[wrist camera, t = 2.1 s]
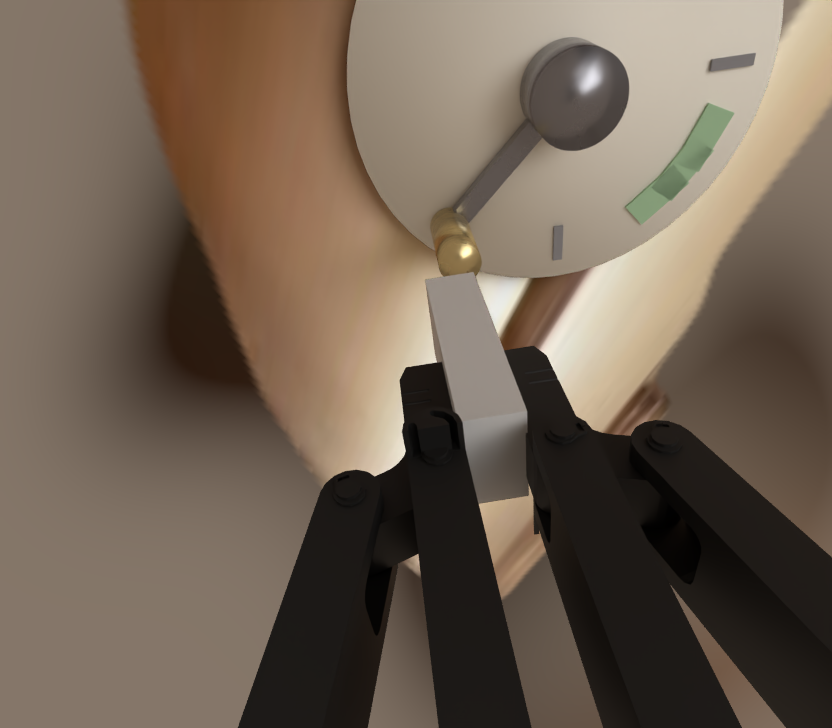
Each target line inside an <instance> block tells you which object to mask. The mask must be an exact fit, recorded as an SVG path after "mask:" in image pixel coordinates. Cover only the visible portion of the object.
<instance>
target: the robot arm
mask: <svg viewBox="0 0 832 728" xmlns="http://www.w3.org/2000/svg"><path fill="white" fill-rule="evenodd" d="M425 282H426V290H427V297H428V304H429V312H430V319H431V327H432V334H433V342H434V349H435V355H436V360H437V363H431V364H425V365H419V366H413V367H406V368H405V370H404V372H403V374H402V376H401V379H400V388H401V396H402V405H403V414H404V424H403V430H402V434H403V439H404V444H405V449H406V452H405V455H404V457H403V458H402V460H401V461H400V462H399V463H398V464H397V465H396V466H394V467H393V468H391V469H390V470H388V471H386V472H384V473H382V474H379V475H377V476H373V475H371V474H370V473H368V472H366V471H360V470H351V471H345V472H342V473H340V474H338V475H335V476H334V477H333V478H331V479H330V480H329V481H328V482H327V483H326V484H325V485H324V487H323V489H322V490H321V492H320V495H319V497H318V501H317V503H316V506H315V509H314V512H313V515H312V517H311V520H310V523H309V526H308V529H307V532H306V535H305V538H304V541H303V544H302V546H301V549H300V552H299V555H298V558H297V560H296V564H295V566H294V569H293V572H292V575H291V578H290V580H289V583H288V586H287V589H286V592H285V595H284V597H283V600H282V603H281V606H280V609H279V612H278V615H277V617H276V620H275V623H274V626H273V629H272V632H271V635H270V637H269V640H268V643H267V646H266V649H265V652H264V655H263V658H262V660H261V663H260V666H259V669H258V672H257V675H256V678H255V680H254V683H253V686H252V689H251V692H250V695H249V697H248V700H247V704H246V706H245V709H244V712H243V715H242V717H241V720H240V723H239V726H238V728H368V723H369V718H370V712H371V707H372V702H373V696H374V691H375V686H376V681H377V675H378V670H379V665H380V660H381V654H382V649H383V644H384V638H385V633H386V628H387V622H388V617H389V612H390V606H391V601H392V596H393V591H394V585H395V580H396V575H397V569H398V563H400V562H402V561H404V560H406V559H408V558H411V557H413V556H415V555H417V554H419V562H420V571H421V579H422V587H423V597H424V604H425V614H426V621H427V631H428V639H429V648H430V656H431V665H432V673H433V682H434V690H435V699H436V707H437V716H438V724H439V728H531V724H530V719H529V715H528V711H527V707H526V703H525V698H524V694H523V690H522V686H521V681H520V677H519V673H518V669H517V665H516V661H515V656H514V652H513V648H512V643H511V639H510V635H509V631H508V627H507V622H506V618H505V614H504V610H503V605H502V601H501V597H500V593H499V588H498V584H497V580H496V576H495V571H494V567H493V563H492V559H491V555H490V550H489V546H488V542H487V538H486V533H485V529H484V525H483V521H482V516H481V512H480V508H479V504H480V503H486V502H492V501H498V500H504V499H511V498H517V497H523V496H529V488H528V483H529V486H530V489H531V492H532V495H533V502H534V535H535V534H539V531H540V534H541V537H542V540H543V543H544V546H545V549H546V552H547V555H548V558H549V561H550V564H551V567H552V571H553V574H554V576H555V580H556V583H557V586H558V589H559V592H560V595H561V598H562V602H563V605H564V608H565V611H566V614H567V617H568V620H569V623H570V626H571V629H572V633H573V635H574V639H575V642H576V645H577V648H578V651H579V654H580V657H581V660H582V663H583V667H584V669H585V673H586V676H587V679H588V682H589V685H590V688H591V691H592V694H593V697H594V700H595V704H596V707H597V710H598V712H599V716H600V719H601V722H602V725H603V728H742V727H741V725H740V723H739V721H738V719H737V717H736V715H735V713H734V711H733V709H732V707H731V705H730V703H729V701H728V699H727V697H726V695H725V693H724V691H723V689H722V687H721V685H720V683H719V681H718V679H717V677H716V675H715V673H714V671H713V669H712V667H711V666H710V663H709V661H708V659H707V657H706V655H705V653H704V652H703V649H702V647H701V645H700V643H699V642H698V640H697V638H696V635H695V634H694V632H693V630H692V627H691V626H690V624H689V622H688V620H687V618H686V616H685V614H684V612H683V610H682V608H681V606H680V604H679V602H678V600H677V598H676V596H675V594H674V592H673V590H672V588H671V586H672V587H673V588H674V589H675V591H676V592H677V593H678V594H679V596H680V597H681V598H682V599H683V600H684V602H685V603H686V604H687V606H688V607H689V608H690V609H691V610H692V612H693V613H694V614H695V615H696V617H697V618H698V619H699V620H700V622H701V623H702V624H703V625H704V627H705V628H706V629H707V630H708V632H709V633H710V634H711V635H712V637H713V638H714V639H715V640H716V641H717V643H718V644H719V645H720V646H721V648H722V649H723V650H724V651H725V653H726V654H727V655H728V656H729V657H730V659H731V660H732V661H733V662H734V664H735V665H736V666H737V667H738V669H739V670H740V671H741V672H742V674H743V675H744V676H745V677H746V679H747V680H748V681H749V682H750V683H751V684H752V686H753V687H754V688H755V690H756V691H757V692H758V693H759V695H760V696H761V697H762V698H763V700H764V701H765V702H766V703H767V705H768V706H769V707H770V708H771V709H772V711H773V712H774V713H775V714H776V716H777V717H778V718H779V719H780V721H781V722H782V723H783V724H784V726H785V727H786V728H832V557H831V556H830V555H828V554H827V553H826V552H825V551H824V550H823V549H822V548H820V547H819V546H818V545H817V544H816V543H815V542H814V541H813V540H812V539H810V538H809V537H808V536H807V535H806V534H805V533H804V532H803V531H801V530H800V529H799V528H798V527H797V526H796V525H795V524H794V523H792V522H791V521H790V520H789V519H788V518H787V517H786V516H785V515H783V514H782V513H781V512H780V511H779V510H778V509H777V508H776V507H774V506H773V505H772V504H771V503H770V502H769V501H768V500H767V499H765V498H764V497H763V496H762V495H761V494H760V493H759V492H758V491H756V490H755V489H754V488H753V487H752V486H751V485H749V483H747V482H746V481H745V480H744V479H743V478H742V477H741V476H740V475H738V474H737V473H736V472H735V471H734V470H733V469H732V468H731V467H729V466H728V465H727V464H726V463H725V462H724V461H723V460H722V459H720V458H719V457H718V456H717V455H716V454H715V453H714V452H713V451H711V450H710V449H709V448H708V447H707V446H706V445H705V444H704V443H702V442H701V441H700V440H699V439H698V438H697V437H696V436H694V435H693V434H692V433H691V432H690V431H689V430H687V429H685V428H684V427H682V426H681V425H678V424H675V423H672V422H669V421H659V420H654V421H649V422H644V423H642V424H641V425H639V426H637V427H636V428H635V429H634V431H633V433H632V434H631V436H625V435H613V434H606V433H601V432H598V431H595V430H592V429H591V427H590V426H589V425H588V424H587V423H586V422H585V421H584V420H582V419H580V418H578V417H577V416H576V415H575V413H574V411H573V409H572V407H571V405H570V403H569V401H568V399H567V397H566V395H565V392H564V390H563V388H562V386H561V384H560V382H559V380H558V379H557V376H556V374H555V372H554V370H553V368H552V366H551V364H550V362H549V360H548V358H547V356H546V355H545V354H544V353H543V352H541V351H540V350H539V349H537V348H536V347H535V346H530V347H523V348H517V349H511V350H505V351H504V350H503V347H502V345H501V342H500V339H499V337H498V334H497V332H496V329H495V326H494V324H493V321H492V319H491V316H490V313H489V311H488V308H487V306H486V303H485V300H484V298H483V295H482V293H481V290H480V287H479V285H478V282H477V280H476V277H475V275H474V272H470V273H464V274H457V275H451V276H445V277H439V278H432V279H426V280H425ZM669 583H670V584H669ZM670 585H671V586H670Z"/></svg>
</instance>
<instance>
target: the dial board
mask: <svg viewBox="0 0 832 728" xmlns="http://www.w3.org/2000/svg"><path fill="white" fill-rule="evenodd" d="M782 16H783V0H356V3H355V7H354V11H353V16H352V20H351V28H350V36H349V44H348V52H347V93H348V102H349V110H350V119H351V123H352V127H353V131H354V135H355V139H356V143H357V147H358V150H359V152H360V155H361V158H362V160H363V163H364V165H365V168H366V171H367V173H368V175H369V177H370V179H371V180H372V182H373V184H374V186H375V188H376V190H377V192H378V193H379V195H380V197H381V198H382V199H383V201H384V202H385V204H386V205H387V206H388V208H389V209H390V210H391V212H392V213H393V215H394V216H395V217H396V218H397V219H398V220H399V221H400V222H401V223H402V224H403V225H404V226H405V227H406V229H407V230H408V231H409V232H410V233H411V234H413V235H414V236H415V237H416V238H418V239H419V240H420V241H421V242H423V243H424V244H425V245H426V246H428V247H429V248H431V249H432V250H434V251H435V248H434V243H433V239H432V235H431V231H430V223H431V220H432V218H433V216H434V215H435V214H436V213H437V212H438V211H440V210H441V209H444V208H452V207H453V206H454V205H455V204H456V203H457V201H458V200H459V199H460V198H461V196H462V195H463V194H464V193H465V192H466V190H467V189H468V188H469V187H470V186H471V184H472V183H473V182H474V181H475V180H476V178H477V177H478V176H479V175H480V174H481V172H482V171H483V170H484V169H485V167H486V166H487V165H488V164H489V163H490V161H491V160H492V159H493V158H494V157H495V155H496V154H497V153H498V152H499V151H500V149H501V148H502V147H503V146H504V145H505V143H506V142H507V141H508V140H509V138H510V137H511V136H512V135H513V134H514V132H515V131H516V130H517V129H518V128H519V126H520V125H521V124H522V123H523V122H524V120H525V119H526V118H525V116H524V114H523V111H522V108H521V104H520V85H521V80H522V77H523V74H524V72H525V69H526V68H527V66H528V64H529V62H530V61H531V60H532V58H533V57H534V56H535V55H536V54H537V53H538V52H539V51H540V50H541V49H542V48H543V47H545V46H546V45H548V44H549V43H551V42H553V41H556V40H558V39H562V38H566V37H577V38H582V39H585V40H587V41H590V42H592V43H594V44H596V45H598V46H600V47H602V48H604V49H606V50H608V51H610V52H611V53H613V54H614V55H615V56H617V57H618V58H619V60H620V61H621V62H622V64H623V65H624V67H625V69H626V72H627V75H628V79H629V98H628V103H627V106H626V109H625V112H624V114H623V116H622V118H621V120H620V122H619V123H618V125H617V126H616V127H615V129H614V130H613V131H612V132H611V133H610V134H609V135H608V136H607V137H606V138H605V139H603V140H602V141H601V142H599V143H597V144H596V145H594V146H592V147H589V148H587V149H583V150H579V151H565V150H560V149H558V148H555V147H553V146H551V145H550V144H548V143H547V142H546V141H545V140H544V139H543V138H542V139H541V140H540V141H539V142H538V143H537V145H536V146H535V147H534V148H533V149H532V150H531V152H530V153H529V154H528V155H527V156H526V157H525V159H524V160H523V161H522V162H521V163H520V164H519V166H518V167H517V168H516V169H515V170H514V171H513V173H512V174H511V175H510V176H509V177H508V178H507V180H506V181H505V182H504V183H503V184H502V185H501V187H500V188H499V189H498V190H497V191H496V192H495V194H494V195H493V196H492V197H491V198H490V199H489V201H488V202H487V203H486V204H485V205H484V206H483V208H482V209H481V210H480V211H479V212H478V213H477V215H476V216H475V217H474V218H473V219H472V220H471V222H470V223H469V226H470V229H471V231H472V234H473V237H474V239H475V242H476V245H477V247H478V250H479V253H480V255H481V259H482V265H481V268H480V271H481V272H485V273H488V274H494V275H500V276H507V277H522V278H538V277H549V276H558V275H563V274H568V273H573V272H578V271H581V270H585V269H588V268H591V267H594V266H597V265H600V264H603V263H605V262H607V261H610V260H612V259H614V258H617V257H619V256H621V255H623V254H625V253H627V252H629V251H631V250H632V249H634V248H636V247H638V246H640V245H641V244H643V243H645V242H647V241H648V240H649V239H651V238H652V237H654V236H655V235H656V234H658V233H659V232H661V231H662V230H664V229H665V228H666V227H668V226H669V225H670V224H671V223H672V222H674V221H675V220H676V219H677V218H678V217H679V216H681V215H682V214H683V213H684V212H685V211H686V210H688V209H689V208H690V207H691V206H692V205H693V203H694V202H695V201H696V200H697V199H698V198H699V197H700V196H701V195H702V194H703V193H704V192H705V191H706V190H707V189H708V188H709V186H710V185H711V184H712V183H713V181H714V180H715V179H716V178H717V176H718V175H719V174H720V173H721V171H722V170H723V169H724V168H725V166H726V165H727V163H728V162H729V160H730V159H731V157H732V156H733V154H734V153H735V151H736V150H737V148H738V146H739V145H740V143H741V142H742V140H743V138H744V136H745V134H746V132H747V130H748V129H749V127H750V125H751V123H752V121H753V119H754V117H755V115H756V113H757V110H758V108H759V105H760V103H761V101H762V98H763V96H764V93H765V91H766V88H767V86H768V82H769V79H770V75H771V72H772V69H773V65H774V62H775V58H776V55H777V49H778V43H779V38H780V32H781V26H782Z"/></svg>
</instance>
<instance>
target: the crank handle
mask: <svg viewBox="0 0 832 728" xmlns="http://www.w3.org/2000/svg"><path fill="white" fill-rule="evenodd" d="M628 98H629V79H628V75H627V72H626V69H625V67H624V65H623V64H622V62H621V61H620V60H619V58H618V57H617V56H615V55H614V54H613V53H611V52H610V51H608V50H606V49H604V48H602V47H600V46H598V45H596V44H594V43H592V42H590V41H587V40H585V39H582V38H577V37H566V38H562V39H558V40H556V41H553V42H551V43H549V44H548V45H546V46H545V47H543V48H542V49H541V50H540V51H539V52H538V53H537V54H536V55H535V56H534V57H533V58H532V60H531V61H530V62H529V64H528V66H527V68H526V69H525V72H524V74H523V77H522V80H521V85H520V104H521V108H522V111H523V114H524V116H525V118H526V119H525V120H524V122H523V123H522V124H521V125H520V126H519V128H518V129H517V130H516V131H515V132H514V134H513V135H512V136H511V137H510V138H509V140H508V141H507V142H506V143H505V145H504V146H503V147H502V148H501V149H500V151H499V152H498V153H497V154H496V155H495V157H494V158H493V159H492V160H491V161H490V163H489V164H488V165H487V166H486V167H485V169H484V170H483V171H482V172H481V174H480V175H479V176H478V177H477V178H476V180H475V181H474V182H473V183H472V184H471V186H470V187H469V188H468V189H467V190H466V192H465V193H464V194H463V195H462V196H461V198H460V199H459V200H458V201H457V203H456V204H455V205H454V206H453V207H452V208H444V209H441V210H440V211H438V212H437V213H436V214H435V215H434V216H433V218H432V220H431V223H430V231H431V235H432V239H433V243H434V248H435V252H436V256H437V260H438V265H439V269H440V272H441V274H442V275H443V277H445V276H451V275H457V274H464V273H470V272H474V275H475V276H476V275H477V274H478V272H479V271H480V268H481V265H482V259H481V255H480V253H479V250H478V247H477V245H476V242H475V239H474V237H473V234H472V231H471V229H470V226H469V223H470V222H471V220H472V219H473V218H474V217H475V216H476V215H477V213H478V212H479V211H480V210H481V209H482V208H483V206H484V205H485V204H486V203H487V202H488V201H489V199H490V198H491V197H492V196H493V195H494V194H495V192H496V191H497V190H498V189H499V188H500V187H501V185H502V184H503V183H504V182H505V181H506V180H507V178H508V177H509V176H510V175H511V174H512V173H513V171H514V170H515V169H516V168H517V167H518V166H519V164H520V163H521V162H522V161H523V160H524V159H525V157H526V156H527V155H528V154H529V153H530V152H531V150H532V149H533V148H534V147H535V146H536V145H537V143H538V142H539V141H540V140H541V139H542V138H543V139H544V140H545V141H546V142H547V143H548V144H550V145H551V146H553V147H555V148H558V149H560V150H565V151H579V150H583V149H587V148H589V147H592V146H594V145H596V144H597V143H599V142H601V141H602V140H603V139H605V138H606V137H607V136H608V135H609V134H610V133H611V132H612V131H613V130H614V129H615V127H616V126H617V125H618V123H619V122H620V120H621V118H622V116H623V114H624V112H625V109H626V106H627V103H628Z"/></svg>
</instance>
